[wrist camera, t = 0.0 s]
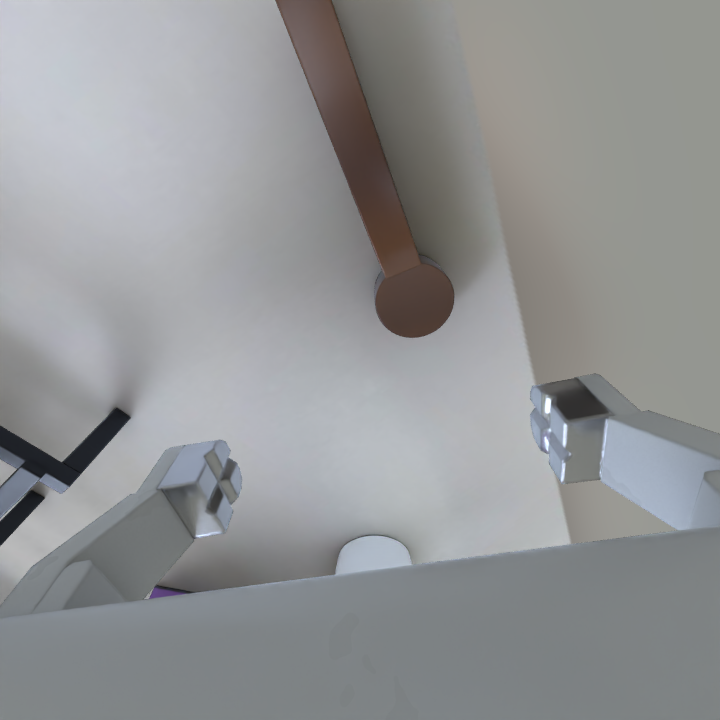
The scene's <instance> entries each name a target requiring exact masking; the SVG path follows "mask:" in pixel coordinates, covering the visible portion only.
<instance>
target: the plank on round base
mask: <svg viewBox="0 0 720 720" xmlns="http://www.w3.org/2000/svg"><path fill="white" fill-rule="evenodd" d="M275 1H276V3H277V6H278V8H279V11H280V13H281V16H282V18H283V21H284V23H285V26H286V28H287V31H288V33H289V36H290V38H291V41H292V43H293V46H294V49H295V51H296V54H297V56H298V59H299V61H300V64H301V66H302V69H303V71H304V74H305V76H306V79H307V81H308V84H309V86H310V89H311V92H312V94H313V97H314V99H315V102H316V104H317V107H318V109H319V112H320V114H321V117H322V119H323V122H324V124H325V127H326V129H327V132H328V135H329V137H330V140H331V142H332V145H333V147H334V150H335V152H336V155H337V157H338V160H339V162H340V165H341V167H342V170H343V172H344V175H345V177H346V180H347V183H348V185H349V188H350V190H351V193H352V195H353V198H354V200H355V203H356V205H357V208H358V210H359V213H360V215H361V218H362V220H363V223H364V226H365V228H366V231H367V233H368V236H369V238H370V241H371V243H372V246H373V248H374V251H375V253H376V256H377V258H378V261H379V263H380V266H381V268H382V271H381V272H380V274H379V276H378V278H377V280H376V283H375V290H374V295H375V306H376V311H377V314H378V317H379V319H380V321H381V322H382V324H383V325H384V326H385V327H386V328H387V329H388V330H390V331H391V332H393V333H395V334H397V335H399V336H403V337H409V338H415V337H422V336H425V335H428V334H430V333H432V332H434V331H436V330H437V329H438V328H440V327H441V326H442V325H443V324H444V323H445V322H446V320H447V319H448V317H449V316H450V314H451V312H452V309H453V305H454V290H453V286H452V284H451V282H450V280H449V278H448V277H447V276H446V274H445V273H444V271H443V270H442V269H441V267H440V266H439V265H438V264H437V263H436V262H434V261H433V260H432V259H430V258H428V257H425V256H421V255H418V252H417V249H416V246H415V243H414V240H413V237H412V234H411V231H410V228H409V225H408V222H407V219H406V217H405V214H404V211H403V208H402V205H401V202H400V199H399V196H398V193H397V190H396V187H395V184H394V181H393V178H392V176H391V173H390V170H389V167H388V164H387V161H386V158H385V155H384V152H383V149H382V146H381V143H380V140H379V138H378V135H377V132H376V129H375V126H374V123H373V120H372V117H371V114H370V111H369V108H368V105H367V102H366V100H365V97H364V94H363V91H362V88H361V85H360V82H359V79H358V76H357V73H356V70H355V67H354V64H353V62H352V59H351V56H350V53H349V50H348V47H347V44H346V41H345V38H344V35H343V32H342V29H341V26H340V23H339V21H338V18H337V15H336V12H335V9H334V6H333V3H332V0H275Z"/></svg>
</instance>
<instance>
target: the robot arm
mask: <svg viewBox="0 0 720 720" xmlns="http://www.w3.org/2000/svg"><path fill="white" fill-rule="evenodd" d="M530 400H531V401H532V403H533V404H534V406H535V409H534V410H533V411H532V412H531V414H530V420H531V428H532V433H533V436H534V439H535V441H536V443H537V445H538V447H539V448H540V450H541V451H543V452H545V453H547V454H549V465H550V466H551V468H552V469H553V471H554V473H555V474H556V476H557V477H558V479H559V480H560V482H561V484H568V483H577V482H584V481H592V480H601V482H602V483H604V484H605V485H607V486H609V487H610V488H612V489H613V490H615V491H617V492H618V493H620V494H621V495H623V496H624V497H626V498H628V499H629V500H631V501H632V502H634V503H636V504H637V505H639V506H640V507H642V508H643V509H645V510H647V511H648V512H650V513H651V514H653V515H655V516H656V517H658V518H659V519H661V520H663V521H664V522H666V523H667V524H669V525H670V526H672V527H674V528H675V529H677V531H670V532H662V533H655V534H647V535H639V536H631V537H623V538H616V539H608V540H600V541H593V542H585V543H577V544H569V545H562V546H554V547H546V548H538V549H531V550H523V551H515V552H507V553H499V554H492V555H484V556H476V557H468V558H461V559H453V560H445V561H437V562H430V563H422V564H414V565H406V566H399V567H391V568H383V569H376V570H368V571H360V572H352V573H345V574H337V575H329V576H321V577H314V578H306V579H298V580H291V581H283V582H275V583H267V584H260V585H252V586H244V587H236V588H229V589H221V590H213V591H206V592H198V593H190V594H182V595H175V596H167V597H159V598H152V599H144V598H145V597H146V596H147V594H148V593H149V592H150V591H151V590H152V589H153V588H154V586H155V585H156V584H157V583H158V582H159V581H160V579H161V578H162V577H163V576H164V575H165V574H166V573H167V571H168V570H169V569H170V568H171V567H172V566H173V565H174V563H175V562H176V561H177V560H178V559H179V558H180V557H181V555H182V554H183V553H184V552H185V551H186V550H187V548H188V547H189V546H190V545H191V544H192V543H193V542H194V539H196V538H201V537H207V536H213V535H218V534H224V533H226V530H227V527H228V525H229V522H230V519H231V517H232V514H233V509H232V507H231V504H232V503H233V502H234V501H235V500H236V499H237V498H238V497H239V494H240V491H241V488H242V476H241V472H240V468H239V466H238V464H237V463H236V462H235V461H233V460H232V459H230V458H228V457H229V454H230V451H231V450H230V448H229V447H228V445H227V443H226V441H223V440H215V441H208V442H202V443H195V444H188V445H183V446H177V447H171V448H169V449H167V450H165V452H164V453H163V454H162V456H161V457H160V459H159V460H158V462H157V463H156V465H155V466H154V468H153V469H152V471H151V472H150V474H149V475H148V476H147V478H146V479H145V481H144V482H143V484H142V485H141V487H140V488H139V490H138V491H137V493H135V494H130V495H129V496H127V497H126V498H125V499H123V500H122V501H121V502H119V503H118V504H117V505H115V506H114V507H112V508H111V509H110V510H108V511H107V512H106V513H104V514H103V515H102V516H100V517H99V518H97V519H96V520H95V521H93V522H92V523H91V524H89V525H88V526H87V527H85V528H84V529H82V530H81V531H80V532H78V533H77V534H76V535H74V536H73V537H72V538H70V539H69V540H67V541H66V542H65V543H63V544H62V545H61V546H59V547H58V548H57V549H55V550H54V551H52V552H51V553H50V554H48V555H47V556H46V557H44V558H43V559H42V560H40V561H39V562H37V563H36V564H35V565H33V566H32V567H31V568H30V569H29V571H28V572H27V573H26V574H25V576H24V577H23V578H22V579H21V581H20V582H19V583H18V584H17V586H16V587H15V588H14V589H13V590H12V592H11V593H10V594H9V595H8V597H7V598H6V599H5V600H4V602H3V603H2V604H1V605H0V720H720V434H719V433H716V432H713V431H710V430H707V429H704V428H700V427H697V426H694V425H691V424H688V423H685V422H682V421H679V420H676V419H673V418H670V417H667V416H664V415H661V414H658V413H655V412H652V411H649V410H648V411H642V412H641V411H640V410H639V409H638V408H637V407H636V406H635V405H633V404H632V403H631V402H630V401H629V400H628V399H627V398H626V397H624V396H623V395H622V394H621V393H620V392H619V391H618V390H616V389H615V388H614V387H613V386H612V385H611V384H610V383H609V382H608V381H606V380H605V379H604V378H603V377H602V376H601V375H598V374H590V375H585V376H580V377H575V378H574V379H568V380H562V381H557V382H552V383H546V384H540V385H535V386H532V388H531V391H530ZM143 599H144V600H143Z"/></svg>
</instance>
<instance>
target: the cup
mask: <svg viewBox="0 0 720 720" xmlns="http://www.w3.org/2000/svg"><path fill="white" fill-rule="evenodd" d="M406 565H412V562H411V558H410V555H409V552H408V550H407V548H406V547H405V546H404V545H403V544H402V543H400V542H398V541H397V540H394V539H392V538H389V537H384V536H365V537H361V538H357V539H355V540H353V541H351V542H349V543H347V544H346V545H345V546H344V547H343V548H342V549H341V551H340V553H339V557H338V562H337V567H336V572H335V575H337V574H345V573H352V572H360V571H368V570H376V569H383V568H391V567H399V566H406Z"/></svg>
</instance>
